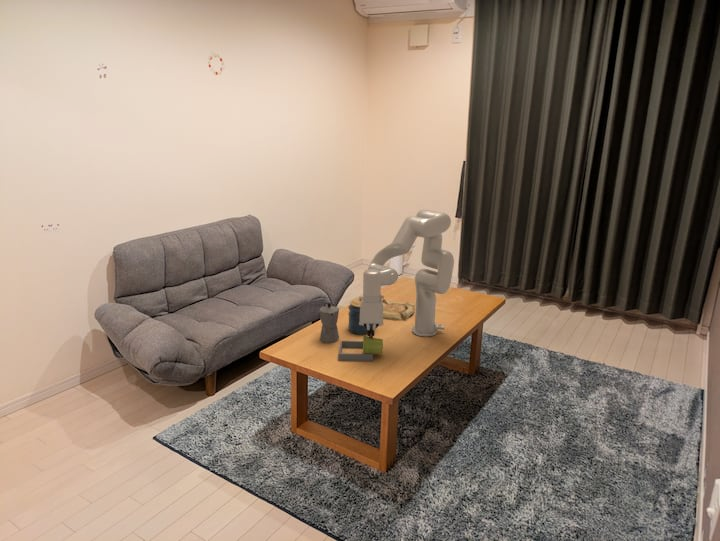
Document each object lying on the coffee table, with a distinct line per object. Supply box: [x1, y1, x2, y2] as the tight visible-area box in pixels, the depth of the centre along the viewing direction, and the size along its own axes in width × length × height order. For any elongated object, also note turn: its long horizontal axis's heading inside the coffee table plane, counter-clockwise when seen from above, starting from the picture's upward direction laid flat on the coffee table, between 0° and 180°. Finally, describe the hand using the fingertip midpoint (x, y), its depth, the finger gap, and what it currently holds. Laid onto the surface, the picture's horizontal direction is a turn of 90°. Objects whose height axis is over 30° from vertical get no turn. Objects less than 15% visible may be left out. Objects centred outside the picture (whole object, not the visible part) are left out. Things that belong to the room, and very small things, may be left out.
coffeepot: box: [318, 302, 340, 344], centre depth 242 cm, size 15×9×18 cm, turn 16°
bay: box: [337, 340, 374, 362], centre depth 228 cm, size 15×14×3 cm
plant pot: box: [362, 334, 384, 355], centre depth 226 cm, size 9×9×9 cm
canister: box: [347, 295, 373, 335], centre depth 252 cm, size 13×13×18 cm
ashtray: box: [381, 298, 416, 322], centre depth 276 cm, size 24×24×5 cm
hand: (370, 337), depth 226 cm, fingers closed
